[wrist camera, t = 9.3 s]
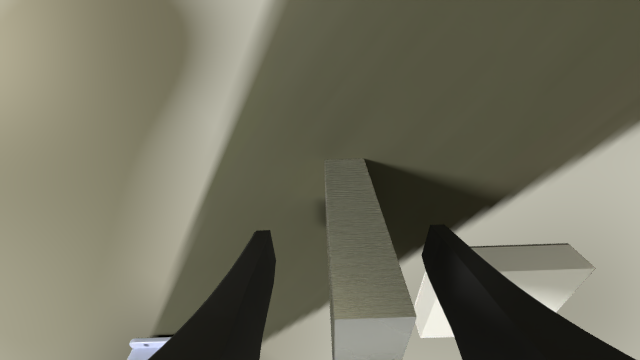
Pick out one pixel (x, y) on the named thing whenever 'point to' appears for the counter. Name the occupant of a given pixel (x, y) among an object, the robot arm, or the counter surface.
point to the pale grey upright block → (363, 270)
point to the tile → (514, 279)
